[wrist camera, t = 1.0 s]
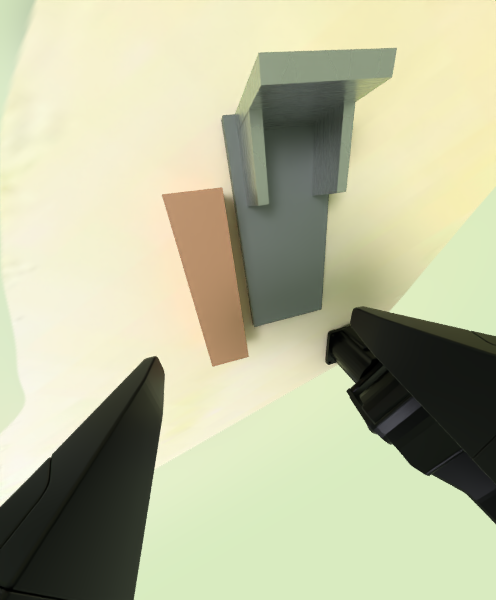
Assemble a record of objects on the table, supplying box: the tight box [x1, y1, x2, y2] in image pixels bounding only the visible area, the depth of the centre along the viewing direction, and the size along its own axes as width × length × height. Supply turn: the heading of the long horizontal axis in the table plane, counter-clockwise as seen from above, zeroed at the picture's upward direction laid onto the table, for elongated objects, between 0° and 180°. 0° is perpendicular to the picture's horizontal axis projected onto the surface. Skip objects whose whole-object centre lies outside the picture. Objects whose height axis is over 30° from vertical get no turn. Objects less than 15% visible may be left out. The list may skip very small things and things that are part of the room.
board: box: [221, 115, 329, 327], centre depth 19 cm, size 19×9×1 cm, turn 8°
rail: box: [162, 188, 249, 366], centre depth 18 cm, size 16×4×4 cm, turn 7°
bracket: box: [235, 48, 397, 206], centre depth 13 cm, size 6×7×6 cm
